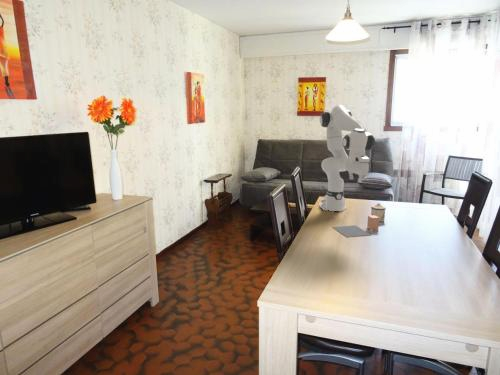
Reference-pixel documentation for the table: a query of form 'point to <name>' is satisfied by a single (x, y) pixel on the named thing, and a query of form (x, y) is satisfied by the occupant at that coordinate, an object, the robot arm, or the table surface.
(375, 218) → the terracotta block
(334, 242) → the table surface
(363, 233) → the charcoal mat
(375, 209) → the teacup with lid
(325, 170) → the robot arm
